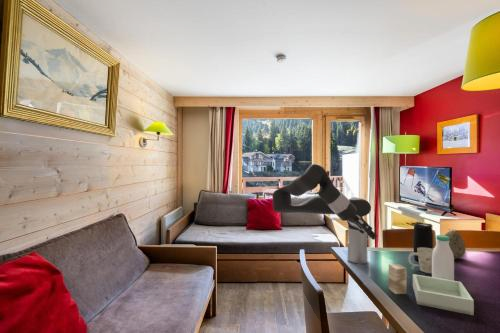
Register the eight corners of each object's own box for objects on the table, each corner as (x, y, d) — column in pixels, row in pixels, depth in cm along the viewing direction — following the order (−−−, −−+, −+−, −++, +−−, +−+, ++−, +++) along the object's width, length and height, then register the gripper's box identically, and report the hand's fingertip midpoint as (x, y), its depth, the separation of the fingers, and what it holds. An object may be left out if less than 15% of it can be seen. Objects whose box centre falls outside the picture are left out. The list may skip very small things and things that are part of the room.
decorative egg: (470, 262, 136) (470, 233, 136) (447, 261, 138) (447, 232, 138) (457, 255, 146) (457, 228, 146) (436, 254, 148) (436, 228, 148)
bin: (417, 304, 95) (417, 290, 95) (412, 286, 109) (412, 274, 109) (473, 315, 88) (473, 300, 88) (460, 294, 102) (460, 281, 102)
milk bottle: (455, 288, 108) (455, 239, 108) (432, 283, 112) (432, 236, 112) (452, 281, 114) (453, 235, 114) (431, 277, 118) (431, 232, 118)
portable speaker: (420, 263, 134) (420, 225, 134) (409, 257, 144) (409, 221, 144) (437, 263, 134) (437, 225, 134) (425, 257, 144) (425, 221, 143)
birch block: (395, 294, 103) (395, 268, 103) (388, 288, 107) (388, 264, 107) (406, 293, 103) (406, 268, 103) (399, 288, 107) (399, 264, 107)
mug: (441, 275, 120) (441, 253, 120) (411, 273, 123) (411, 251, 123) (433, 268, 128) (433, 247, 128) (404, 266, 131) (404, 246, 131)
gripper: (328, 209, 110) (354, 236, 111) (342, 216, 96) (372, 247, 97) (340, 197, 111) (366, 224, 111) (356, 201, 96) (386, 232, 97)
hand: (369, 234), depth 104 cm, fingers open, 8 cm apart
